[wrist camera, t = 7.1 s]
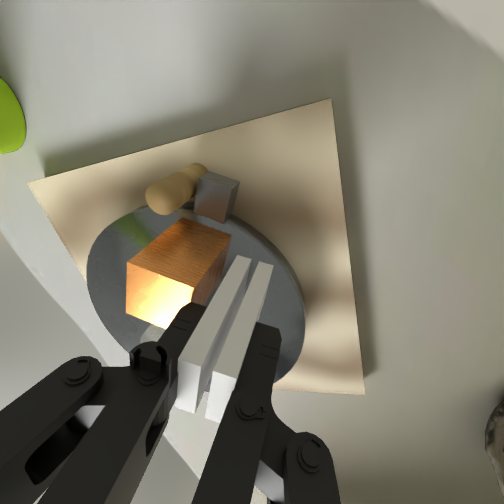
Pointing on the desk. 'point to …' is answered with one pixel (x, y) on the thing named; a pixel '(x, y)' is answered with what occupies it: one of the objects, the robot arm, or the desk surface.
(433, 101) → the desk surface
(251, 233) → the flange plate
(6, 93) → the soap dispenser
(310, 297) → the post base
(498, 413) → the fossil
